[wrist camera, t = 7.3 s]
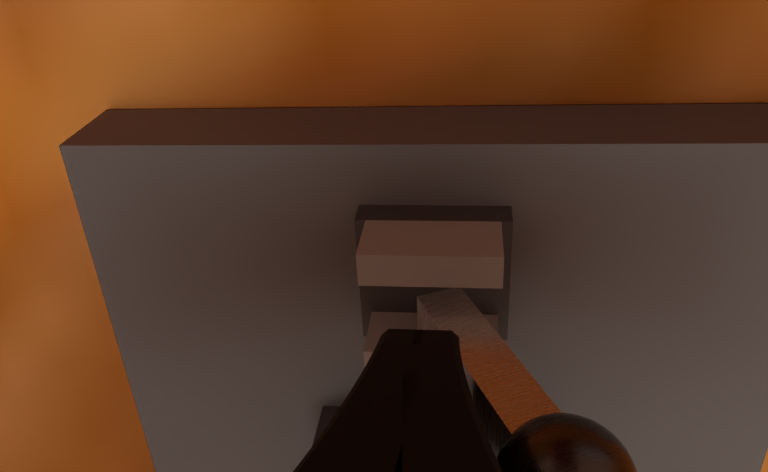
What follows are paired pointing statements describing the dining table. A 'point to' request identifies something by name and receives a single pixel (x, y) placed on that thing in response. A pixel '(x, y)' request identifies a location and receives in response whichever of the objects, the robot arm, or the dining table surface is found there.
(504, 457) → the toggle lever
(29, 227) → the dining table surface
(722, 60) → the dining table surface
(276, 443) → the control panel
